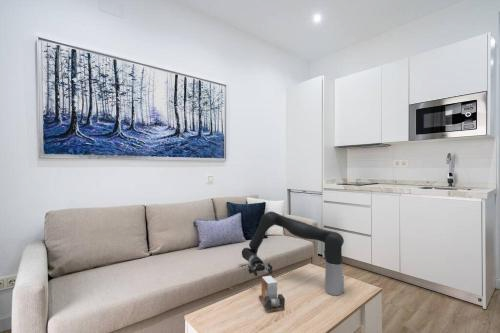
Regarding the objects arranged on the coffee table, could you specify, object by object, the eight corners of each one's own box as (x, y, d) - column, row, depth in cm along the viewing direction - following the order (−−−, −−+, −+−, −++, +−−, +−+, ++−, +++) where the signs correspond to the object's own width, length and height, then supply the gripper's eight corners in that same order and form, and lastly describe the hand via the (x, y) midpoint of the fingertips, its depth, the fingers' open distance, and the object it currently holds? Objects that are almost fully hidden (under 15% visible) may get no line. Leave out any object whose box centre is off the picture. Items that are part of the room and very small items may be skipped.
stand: (274, 295, 134) (274, 284, 134) (284, 310, 120) (284, 298, 120) (259, 297, 132) (259, 286, 132) (267, 313, 118) (267, 300, 118)
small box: (261, 296, 131) (261, 276, 131) (270, 294, 133) (271, 275, 133) (267, 304, 124) (267, 283, 124) (277, 302, 126) (277, 281, 126)
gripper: (245, 257, 153) (251, 268, 137) (266, 255, 157) (275, 265, 141) (244, 269, 153) (251, 281, 137) (266, 267, 157) (275, 278, 141)
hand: (263, 273), depth 139 cm, fingers open, 8 cm apart
